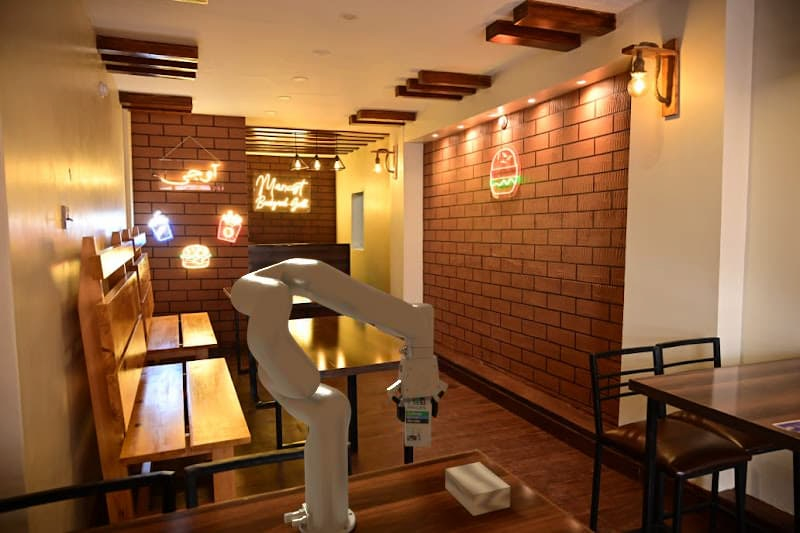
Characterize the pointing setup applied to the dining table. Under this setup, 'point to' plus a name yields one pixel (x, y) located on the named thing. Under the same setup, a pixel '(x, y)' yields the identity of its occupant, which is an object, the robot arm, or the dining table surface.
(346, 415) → the robot arm
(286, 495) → the dining table surface
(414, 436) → the light bulb box
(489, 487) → the ash block
